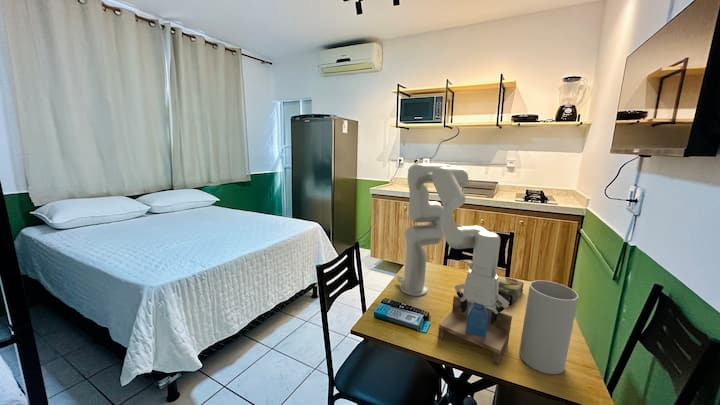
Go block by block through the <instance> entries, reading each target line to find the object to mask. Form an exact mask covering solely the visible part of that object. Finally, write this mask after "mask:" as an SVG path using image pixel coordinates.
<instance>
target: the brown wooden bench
mask: <svg viewBox="0 0 720 405" xmlns="http://www.w3.org/2000/svg"><path fill="white" fill-rule="evenodd" d="M472 303H474V302H472V301H469V300H467V308H466V311H465V312H464V313H462V312H461V310H462V309H461V308H460V307H461V301H460V298H459V297H458V295H457V294H454V295H453V301H452V308H451V309H452V310H451V311H450V312H449V313H448V314H447V315H446V316H445V317H444V319H443V320H442V321H440V323H439V325H438V335H437V339H438V340H441V341H443V340H444V339H445V338H446V337H447V336H448V335H449V334H450V333H451V334H453V335H455V336H458V337H460V338H462V339H464V340H467V341H469V342H471V343H473V344H475V345H478V346H481V348H485V349H488V350H489V351H492V352H493V359H492V365H494V366H496V367H499V365H500V362H502V361H501V360H502V359H503V356H504V354H505V352H506V350H507V348H508V347H509V346H508V345H509V342H510V341H509V340H510V333H511V326H512V321H513V320H512V319H513V314H510V313H508V312H505V311H501V312H499V313H498V318H497V321H495V322H494V323H493V324H491V316H492V312H493V310H492V308H491V307H486V306H485V307H486V309H487V311H488V324H487V331H486V338H484V337H481V336H477V335H473V334H469V333H466V325H467V316H468V308H469V306H470V305H471V304H472Z"/></svg>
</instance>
